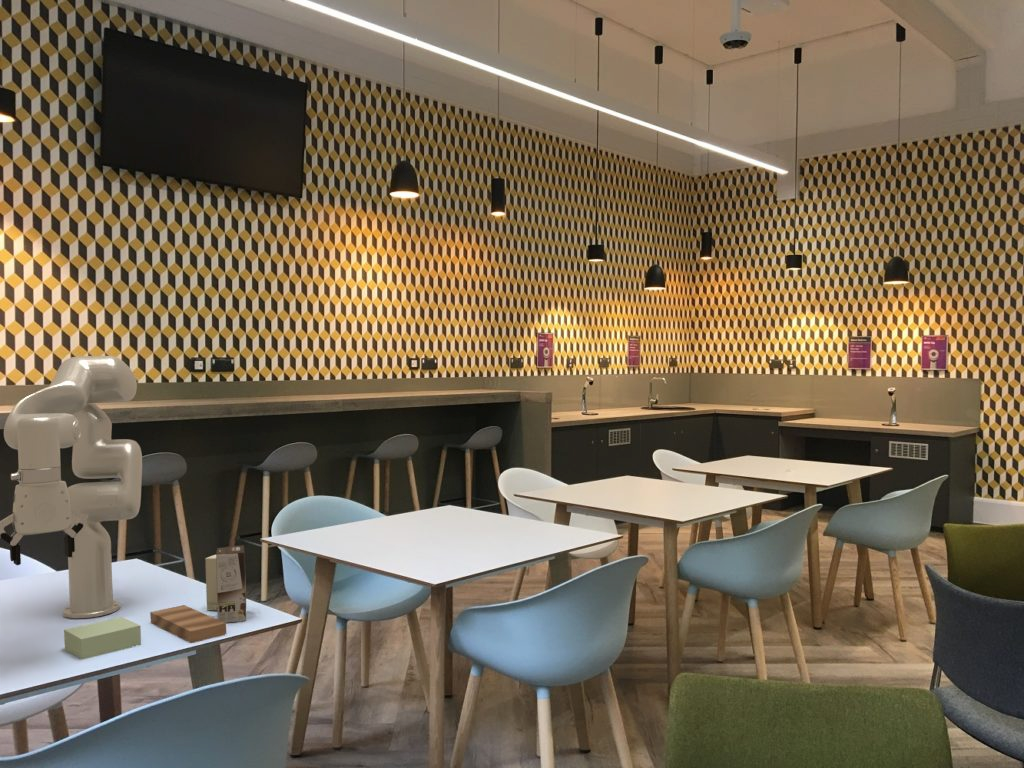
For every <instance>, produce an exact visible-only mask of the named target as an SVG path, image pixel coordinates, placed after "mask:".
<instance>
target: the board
mask: <svg viewBox="0 0 1024 768" xmlns="http://www.w3.org/2000/svg"><path fill="white" fill-rule="evenodd" d="M149 614H150V624H152V625H154V626H156V627H158V628H160V629H162V630H164V631H166V632H169V633H170V634H172V635H174V636H176V637H178V638H179V639H182V640H184V641H186V642H187V643H189V644H193V643H197V642H202V641H205V640H209V639H213V638H217V637H222V636H225V634H226V635H227V623H225V622H222V621H220V620H218V618H216V617H213V616H210V615H208V614H206V613H204V612H201V611H199V610H197V609H195V608H192V607H189V606H187V605H186V604H185V605H184V604H183V605H179V606H174V607H168V608H164V609H159V610H154V611H150V613H149Z"/></svg>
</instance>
